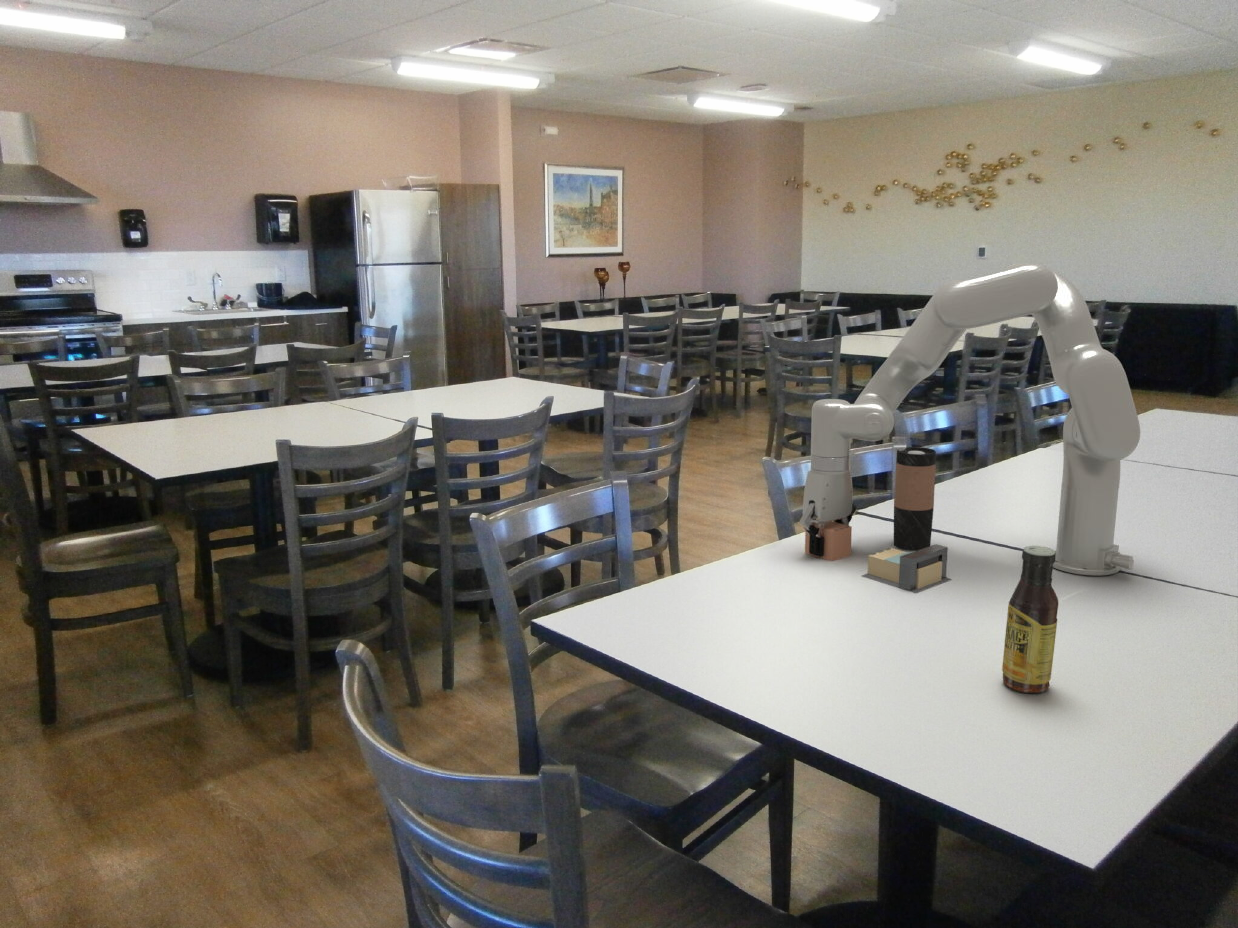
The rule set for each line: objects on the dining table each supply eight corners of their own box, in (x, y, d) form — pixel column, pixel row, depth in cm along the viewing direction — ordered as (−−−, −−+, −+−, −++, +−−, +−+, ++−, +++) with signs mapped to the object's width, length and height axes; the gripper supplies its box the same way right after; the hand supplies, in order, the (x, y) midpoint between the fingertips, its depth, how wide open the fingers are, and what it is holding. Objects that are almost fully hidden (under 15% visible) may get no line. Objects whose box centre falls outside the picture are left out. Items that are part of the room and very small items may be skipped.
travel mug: (933, 553, 187) (938, 454, 183) (893, 551, 189) (897, 454, 184) (929, 541, 194) (934, 447, 190) (890, 540, 196) (894, 446, 192)
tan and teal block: (941, 580, 171) (942, 561, 170) (918, 588, 167) (918, 569, 166) (890, 565, 180) (891, 547, 179) (867, 573, 175) (868, 555, 175)
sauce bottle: (993, 677, 133) (1002, 542, 129) (1035, 674, 133) (1046, 540, 129) (1016, 698, 127) (1026, 557, 122) (1060, 695, 127) (1072, 555, 123)
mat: (952, 580, 172) (952, 579, 171) (915, 594, 165) (915, 593, 165) (897, 564, 181) (897, 563, 181) (860, 577, 174) (860, 575, 174)
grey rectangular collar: (946, 577, 172) (947, 547, 171) (910, 590, 166) (911, 559, 165) (934, 574, 174) (936, 544, 173) (898, 587, 168) (900, 556, 167)
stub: (850, 555, 186) (851, 525, 185) (832, 561, 183) (833, 531, 182) (823, 547, 192) (823, 518, 190) (804, 553, 188) (805, 523, 187)
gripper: (843, 453, 191) (841, 538, 195) (785, 466, 181) (783, 556, 185) (874, 459, 185) (870, 547, 189) (815, 473, 175) (813, 565, 179)
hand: (827, 550), depth 187 cm, fingers open, 6 cm apart
